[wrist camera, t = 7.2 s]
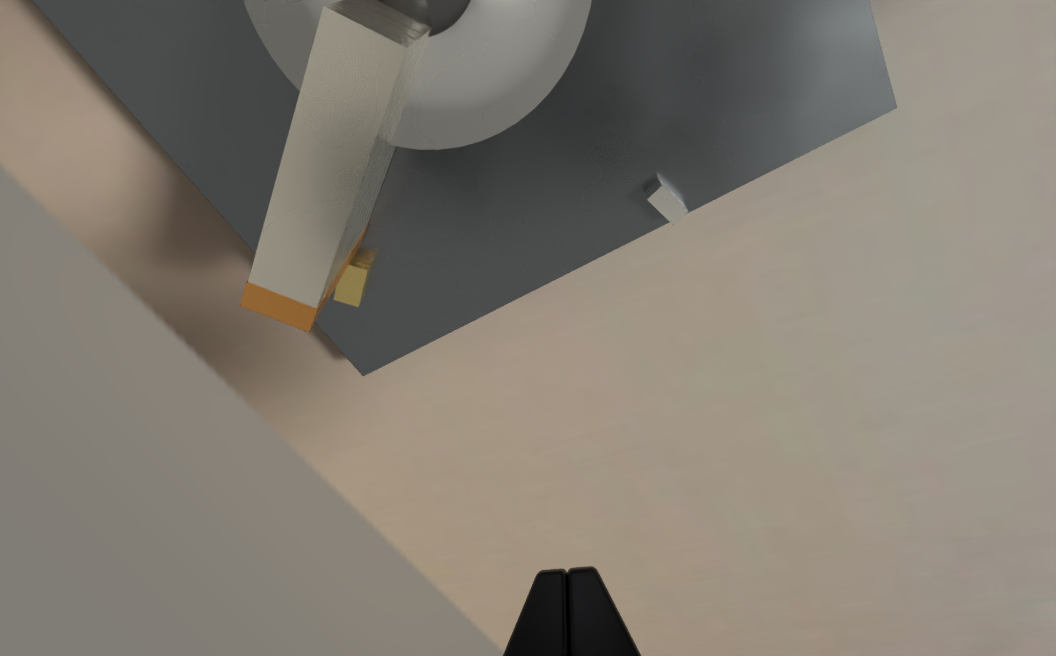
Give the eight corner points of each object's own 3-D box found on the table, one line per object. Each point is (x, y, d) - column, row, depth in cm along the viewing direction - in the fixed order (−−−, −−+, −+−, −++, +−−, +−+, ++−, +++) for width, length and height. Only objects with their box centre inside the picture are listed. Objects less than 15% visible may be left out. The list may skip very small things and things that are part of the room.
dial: (309, -343, 11) (189, -493, 7) (653, -130, 12) (703, -159, 9) (201, 177, 16) (96, 250, 12) (456, 284, 17) (433, 379, 14)
